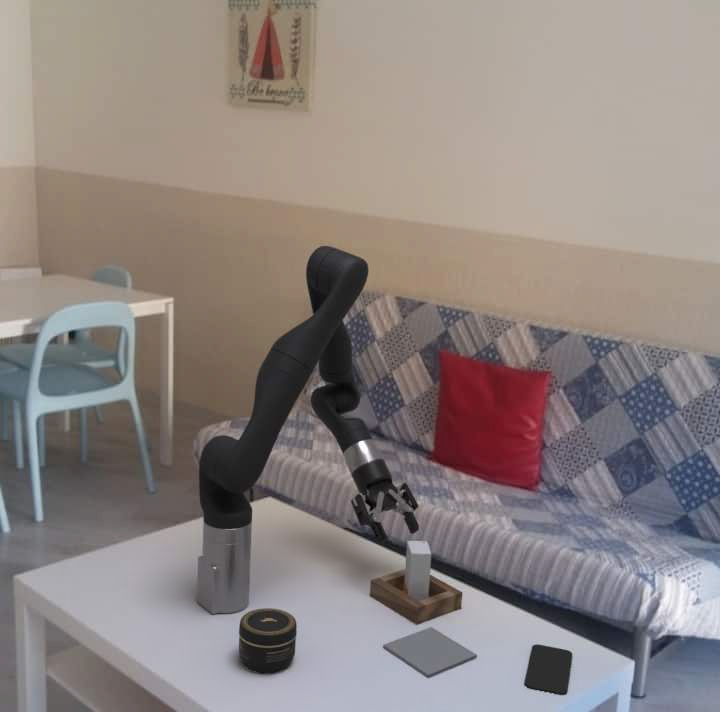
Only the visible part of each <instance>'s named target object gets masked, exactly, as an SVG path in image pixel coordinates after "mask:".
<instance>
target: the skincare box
mask: <svg viewBox="0 0 720 712" xmlns="http://www.w3.org/2000/svg"><path fill="white" fill-rule="evenodd" d="M430 548H431V547H430V545H429V543H428V541H427V540H425V541H424V540H407V541H406V554H405V568H404V569H405V579H404V591H403V592H404V593H406V594H407V595H409V596H411V597H412V598H414V599H416V600H418V601H420V600H423V599H426V598H429V596H428V594H429V581H430V575H431V564H432V552H431V549H430Z"/></svg>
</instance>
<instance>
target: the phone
mask: <svg viewBox="0 0 720 712" xmlns="http://www.w3.org/2000/svg"><path fill="white" fill-rule="evenodd" d="M572 661H573V652H572V651H570V650H568V649H563V648H558V647H553V646H549V645H543V644H533V645H532V647H531V650H530V655H529V658H528V665H527V668H526V673H525V678H524V681H523V682H524V683H523V686H524V687H525V686H526V687H527V688H526V687H525V688H526V689H529V690H533V689H534V691H537V690H539V692H542V691H544V692H543V693H547V692H549V693H548V694H552V693H554V694H553V695H557V694H558V695H557V696H565V695H567V694H568V688H569V681H570V675H571V669H570V668H572Z"/></svg>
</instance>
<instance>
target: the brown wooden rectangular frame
mask: <svg viewBox="0 0 720 712" xmlns="http://www.w3.org/2000/svg"><path fill="white" fill-rule="evenodd" d="M404 579H405V568H403V569H402V570H398V571H394V572H392V573H389V574H385V575H382V576H379V577H376V578H372V579H371V580H370V589H369V596H370V597H371V598H373V599H374V600H376V601H377V602H379V603H380V604H383V606H386V607H387V608H389V609H391V611H394V612H395V613H397V614H399V615H400V616H402V617H403V618H405V619H407V620H409V621H410V622H412V623H413V624H415V625H419V624H422V623H426V622H427V621H430V620H433V619H435V618H436V619H437V618H438V617H442V616H444V615H446V614H449V613H453V612H455V611H458V610H461V609H462V602H463V601H462V600H463V591H461V590H459V589H457V588H456V587H453V586H452V585H450V584H448V583H447V582H444V581H443V580H441V579H439V578H437V577H435V576H434V575H432V574H430V581H429V594H428V598H426V599H423V600H420V601H418V600H416V599H414V598H412V597H411V596H409V595H407V594H406V593H404Z"/></svg>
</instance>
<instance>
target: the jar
mask: <svg viewBox="0 0 720 712" xmlns="http://www.w3.org/2000/svg"><path fill="white" fill-rule="evenodd" d="M296 620H297V619H296V618H295V617H294V616H293V615H292V614H291V613H289V612H288V611H285V610H282V609H280V608H279V609H278V608H272V607H271V608H268V607H267V608H266V607H265V608H258V609H253V610H250V611H248V612H246V613H245V614H244V615H243V616H242V617H241V619H240V621H239V627H238V628H239V629H238V639H239V640H238V654H239V659H240V662H241V664H242V665H243V666H244V667H245V668H246V667H247V668H248V669H247V668H246V669H247V670H249V669H250V670H249V671H251V670H252V671H251V672H253V671H256V672H255V673H257V672H259V673H258V674H263V673H270V674H276V672H277V673H279V672H283V671H284V670H286V669H287V668H289V667H290V665H291V664H292V663H293V660H294V657H295V654H296V642H297V641H296V640H297V633H298V630H297V621H296Z"/></svg>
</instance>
